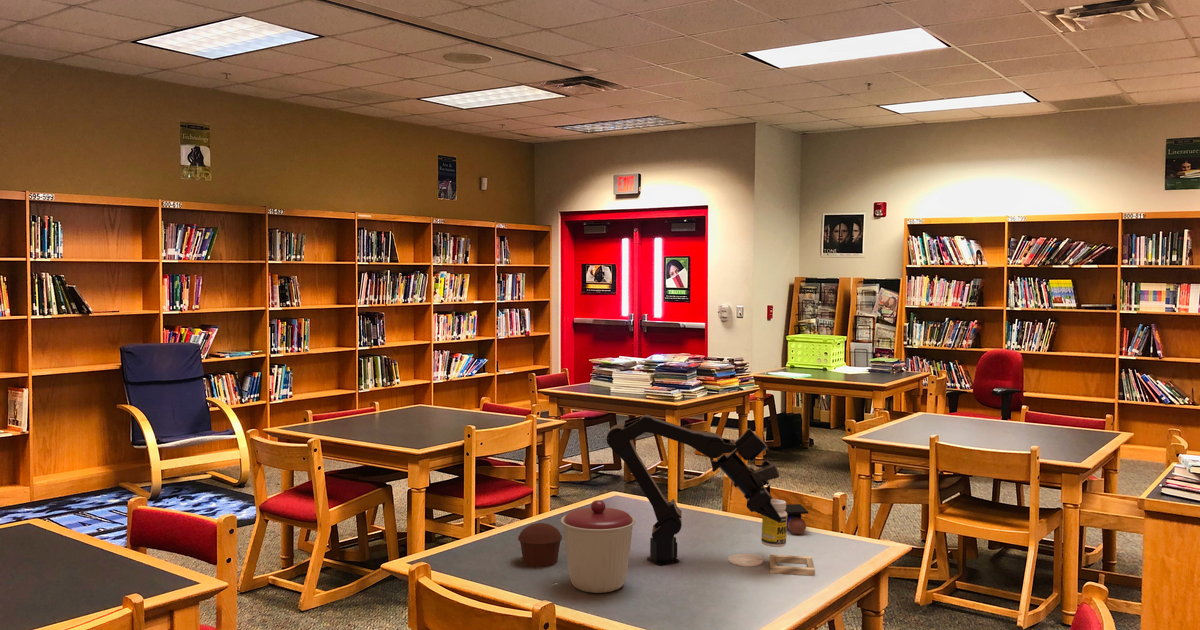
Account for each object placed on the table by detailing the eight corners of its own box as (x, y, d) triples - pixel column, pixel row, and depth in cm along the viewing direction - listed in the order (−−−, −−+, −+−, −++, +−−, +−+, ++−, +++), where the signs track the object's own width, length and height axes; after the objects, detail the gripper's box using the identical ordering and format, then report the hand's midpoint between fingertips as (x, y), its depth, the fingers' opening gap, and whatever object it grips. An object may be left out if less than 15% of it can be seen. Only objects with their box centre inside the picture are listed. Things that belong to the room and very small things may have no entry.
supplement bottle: (779, 549, 233) (780, 505, 232) (757, 544, 236) (758, 501, 236) (790, 543, 238) (792, 501, 237) (768, 539, 242) (770, 497, 241)
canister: (593, 569, 234) (593, 488, 233) (649, 584, 222) (650, 499, 221) (545, 587, 220) (545, 501, 219) (603, 605, 208) (603, 514, 207)
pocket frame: (770, 573, 231) (770, 567, 231) (769, 560, 242) (769, 554, 242) (814, 575, 229) (814, 569, 229) (811, 562, 240) (811, 556, 240)
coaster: (743, 568, 235) (743, 566, 235) (721, 559, 242) (721, 557, 242) (770, 563, 239) (770, 561, 239) (748, 554, 247) (748, 552, 247)
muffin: (556, 554, 247) (556, 517, 246) (567, 566, 236) (567, 528, 236) (513, 558, 243) (513, 521, 243) (522, 570, 233) (522, 532, 232)
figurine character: (777, 527, 280) (787, 535, 264) (776, 502, 280) (786, 509, 265) (799, 527, 280) (810, 535, 264) (798, 502, 280) (810, 509, 265)
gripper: (762, 459, 228) (805, 506, 226) (761, 446, 246) (801, 489, 245) (729, 488, 229) (771, 535, 228) (731, 473, 248) (770, 516, 246)
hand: (780, 517), depth 237 cm, fingers closed on supplement bottle, 6 cm apart
